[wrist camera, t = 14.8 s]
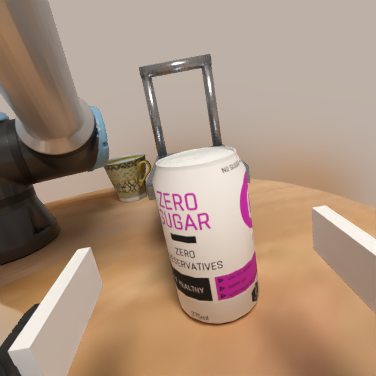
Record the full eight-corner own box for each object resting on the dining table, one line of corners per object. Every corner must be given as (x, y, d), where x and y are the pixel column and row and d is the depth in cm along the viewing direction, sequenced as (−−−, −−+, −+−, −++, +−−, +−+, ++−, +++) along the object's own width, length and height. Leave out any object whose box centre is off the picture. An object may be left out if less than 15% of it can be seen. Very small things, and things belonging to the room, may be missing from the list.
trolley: (264, 260, 31) (239, 10, 23) (163, 278, 31) (104, 36, 24) (229, 199, 52) (210, 56, 44) (169, 209, 52) (139, 69, 45)
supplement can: (252, 268, 30) (237, 141, 26) (267, 326, 22) (249, 158, 18) (184, 275, 31) (158, 154, 27) (176, 332, 24) (137, 175, 19)
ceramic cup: (105, 203, 64) (93, 164, 61) (134, 189, 71) (125, 154, 68) (143, 207, 56) (132, 163, 53) (170, 191, 64) (162, 151, 61)
